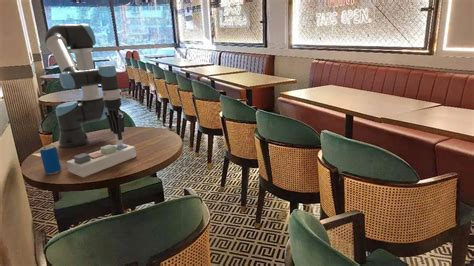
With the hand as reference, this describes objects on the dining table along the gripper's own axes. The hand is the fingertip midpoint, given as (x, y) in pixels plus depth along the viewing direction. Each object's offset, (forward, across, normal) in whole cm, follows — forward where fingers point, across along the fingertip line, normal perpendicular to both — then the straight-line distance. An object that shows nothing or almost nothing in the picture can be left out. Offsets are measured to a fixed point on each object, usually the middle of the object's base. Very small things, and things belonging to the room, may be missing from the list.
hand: (119, 145), depth 162 cm
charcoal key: (+2, 0, -20) cm, 20 cm away
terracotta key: (+4, 0, -13) cm, 13 cm away
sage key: (+2, 0, -6) cm, 7 cm away
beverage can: (+6, -12, -28) cm, 31 cm away
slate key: (+3, 0, 0) cm, 3 cm away
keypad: (+6, 0, -10) cm, 11 cm away
